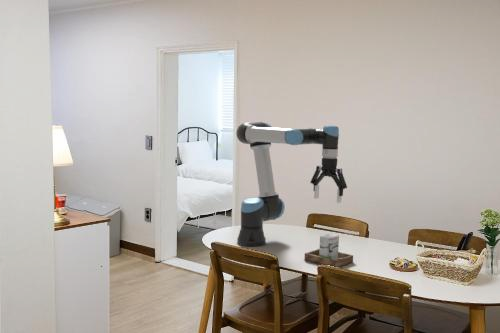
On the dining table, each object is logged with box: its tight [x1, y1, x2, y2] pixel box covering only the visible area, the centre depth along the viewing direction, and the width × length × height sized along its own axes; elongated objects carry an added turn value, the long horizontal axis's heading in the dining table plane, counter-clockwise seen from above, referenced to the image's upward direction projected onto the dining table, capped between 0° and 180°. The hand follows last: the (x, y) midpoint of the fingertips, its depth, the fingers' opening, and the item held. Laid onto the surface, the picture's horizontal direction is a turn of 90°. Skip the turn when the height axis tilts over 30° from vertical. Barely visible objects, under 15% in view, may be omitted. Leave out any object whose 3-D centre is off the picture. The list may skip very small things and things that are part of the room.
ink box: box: [318, 233, 340, 260], centre depth 249 cm, size 9×5×12 cm, turn 130°
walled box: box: [304, 248, 354, 268], centre depth 250 cm, size 18×14×4 cm
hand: (327, 200), depth 260 cm, fingers open, 13 cm apart
